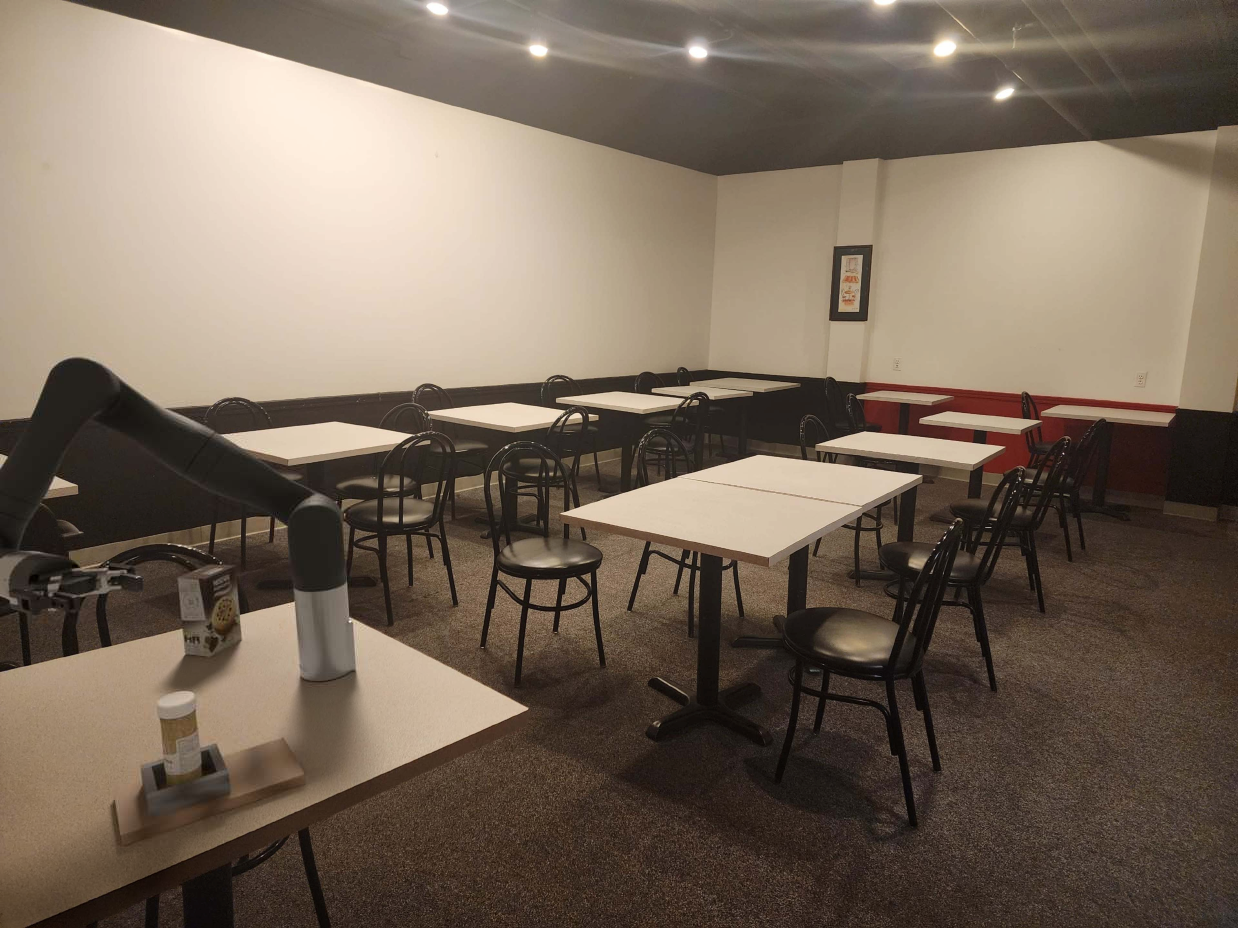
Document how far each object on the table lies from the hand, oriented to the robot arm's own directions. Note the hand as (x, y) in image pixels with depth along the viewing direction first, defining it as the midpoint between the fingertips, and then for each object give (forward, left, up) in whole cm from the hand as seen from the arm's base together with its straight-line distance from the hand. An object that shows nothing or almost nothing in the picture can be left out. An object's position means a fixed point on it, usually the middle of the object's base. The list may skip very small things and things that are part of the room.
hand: (110, 593), depth 103 cm
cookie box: (-18, -44, -28) cm, 55 cm away
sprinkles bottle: (-6, +9, -27) cm, 29 cm away
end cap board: (-9, +10, -28) cm, 31 cm away
